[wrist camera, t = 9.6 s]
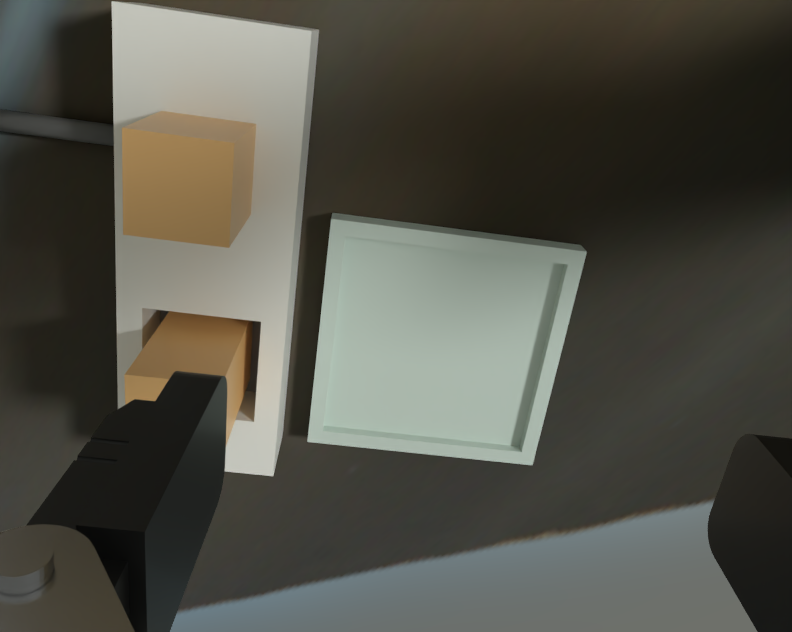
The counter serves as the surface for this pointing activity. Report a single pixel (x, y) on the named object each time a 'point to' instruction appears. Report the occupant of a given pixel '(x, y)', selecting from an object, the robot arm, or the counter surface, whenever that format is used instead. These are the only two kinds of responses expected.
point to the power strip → (264, 239)
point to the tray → (439, 338)
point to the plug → (194, 357)
